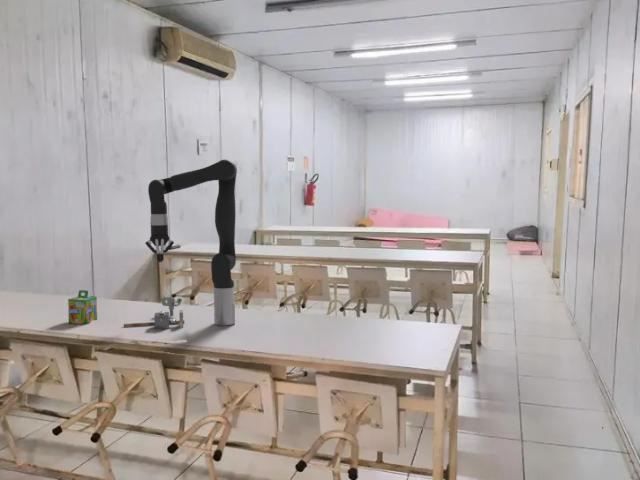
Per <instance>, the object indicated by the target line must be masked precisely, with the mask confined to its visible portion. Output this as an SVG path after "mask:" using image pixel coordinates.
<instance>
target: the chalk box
mask: <svg viewBox="0 0 640 480" xmlns="http://www.w3.org/2000/svg"><path fill="white" fill-rule="evenodd" d="M82 294H84V295H82ZM88 294H89V290H86V289H85V290H84V289H83V290H81V289H80V290H78V295H77V296H75V297H71V298H68V299H67V304H68V305H67V306H68V310H67V311H68V313H67V314H68V324H74V325H89V324H91V322H92V321H97V320H98V309H97V307H98V303H97V300H98V298H97V296H92V295H88Z"/></svg>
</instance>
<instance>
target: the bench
mask: <svg viewBox="0 0 640 480" xmlns="http://www.w3.org/2000/svg"><path fill="white" fill-rule="evenodd" d="M178 311H179V315H178V316H179V320H176V323H169V326H170V325H179V329H181V328H184V324H185V320H184V310H183V309H179V310H178ZM148 326H149V327H152V326H153V327H155V321H150V322H148V321H147V322H135V323H134V322H133V323H131V322H130V323H123V328H131V327H133V328H134V327H148Z"/></svg>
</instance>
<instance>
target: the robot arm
mask: <svg viewBox="0 0 640 480" xmlns="http://www.w3.org/2000/svg"><path fill="white" fill-rule="evenodd" d="M237 173H238V168H237V166H236V164H235V162H234V161H232V160H229V159H221V160H219V161H217V162H215V163H212V164H210V165H208V166H206V167H202V168H200V169H199V168H198V169H196V170H191V171H186V172H182V173H178V174H175V175H171V176H170V177H166V178H161V179H153V180H151V181H150V182H149V183H148V188H147V190H148V191H147V192H148V198H149V201H150V202H149V203H150V237H149V240H148V241H145V243H144V244H145V246H147V248H149V250H150V251H151V252H152V253H154V254H156V261H158V263H163V261H164V258H165V257H164V256H165V255H164V254H165V253H168V252H169V250H170V249H171V248H172V246H173V245H174V244H175V242H174V240H171V238H170V236H169V221H168V210H167V209H168V206H167V205H168V204H167V202H166V200H165V195H167V194H169V193H173V192H176V191H182V190H185V189H189V188H193V187H195V186H197V185H200V184H201V185H202V184H204V183H207V182H211V181H212V182H213V181H218V194H217V197H216V202H215V208H214V209H215V211H214V224H215V229H216V233H217V236H218V240H219V243H218V244H219V247H218V248H219V249H218V253H216V254H214V256H212V259H211V264H210V265H211V266H210V267H211V268H210V269H211V282H212V283H213V314H214V315H213V320H214V321H213V323H214V325H216V326H224V327H225V326H231V325H235V324H236V305H235V281H234V280H233V279H232V271H231V270H233V269H234V268H235V266H236V261H237V258H236V247H235V246H236V245H235V237H236V236H235V235H236V217H237V216H236V211H237V210H236V195H235V193H236V191H235V189H236V181H237V180H236V179H237ZM167 243H168V245H167ZM152 244H153V245H154V247H153V245H152ZM166 245H167V247H165V246H166Z"/></svg>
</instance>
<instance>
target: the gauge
mask: <svg viewBox="0 0 640 480" xmlns="http://www.w3.org/2000/svg"><path fill="white" fill-rule="evenodd" d="M153 319H154V321H153V322H155V325H154V330H167V329H170V325H169V323H176V321H177V319H176V318H175V319H170V311H164V310H159V311H158V312H155V313H154V318H153Z"/></svg>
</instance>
